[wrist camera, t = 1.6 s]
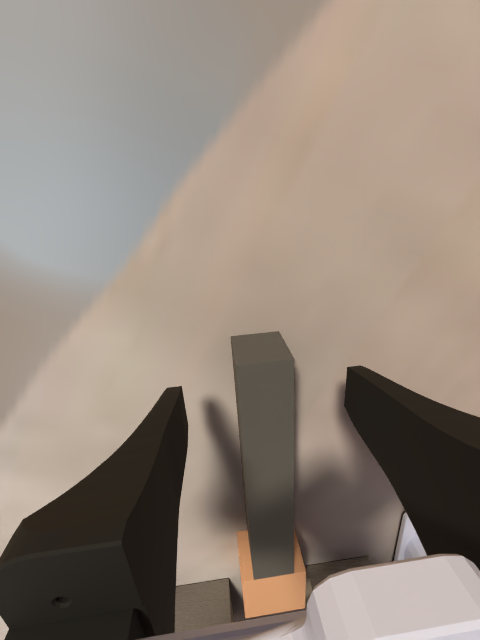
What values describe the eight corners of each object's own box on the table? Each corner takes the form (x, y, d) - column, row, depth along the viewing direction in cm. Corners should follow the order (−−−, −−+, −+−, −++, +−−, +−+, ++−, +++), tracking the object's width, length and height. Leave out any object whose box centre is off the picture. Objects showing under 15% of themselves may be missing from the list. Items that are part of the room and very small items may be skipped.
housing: (368, 556, 23) (413, 654, 18) (362, 593, 25) (402, 692, 20) (161, 588, 22) (148, 704, 17) (171, 625, 24) (162, 738, 19)
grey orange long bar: (292, 329, 16) (311, 357, 13) (292, 558, 23) (305, 608, 20) (216, 337, 15) (218, 367, 12) (240, 566, 22) (245, 618, 20)
